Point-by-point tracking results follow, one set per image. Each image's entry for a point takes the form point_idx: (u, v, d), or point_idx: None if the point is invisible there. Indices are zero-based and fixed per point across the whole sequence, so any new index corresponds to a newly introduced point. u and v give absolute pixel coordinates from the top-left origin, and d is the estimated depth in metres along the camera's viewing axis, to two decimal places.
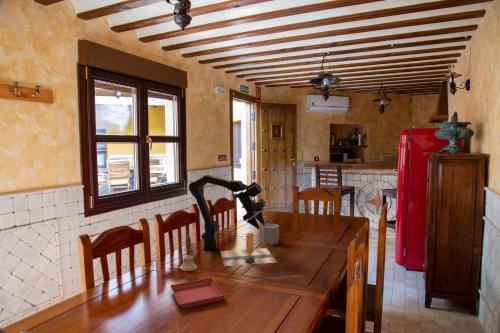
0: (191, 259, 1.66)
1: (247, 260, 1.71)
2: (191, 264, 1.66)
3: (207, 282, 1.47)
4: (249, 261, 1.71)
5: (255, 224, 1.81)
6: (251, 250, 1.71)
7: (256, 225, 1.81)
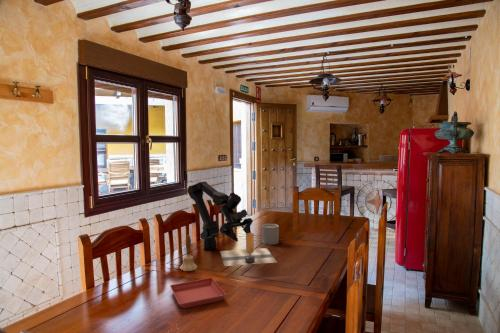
0: (191, 259, 1.66)
1: (247, 260, 1.71)
2: (191, 264, 1.66)
3: (207, 282, 1.47)
4: (249, 261, 1.71)
5: (232, 236, 1.73)
6: (251, 250, 1.71)
7: (233, 237, 1.72)
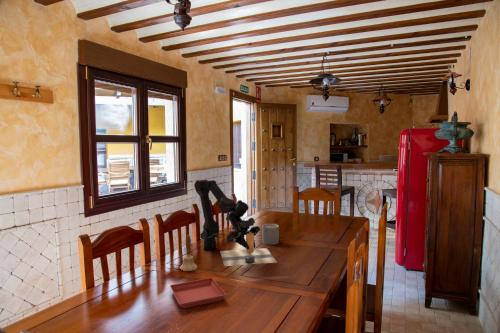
0: (191, 259, 1.66)
1: (247, 260, 1.71)
2: (191, 264, 1.66)
3: (207, 282, 1.47)
4: (249, 261, 1.71)
5: (244, 244, 1.71)
6: (251, 250, 1.71)
7: (245, 245, 1.70)
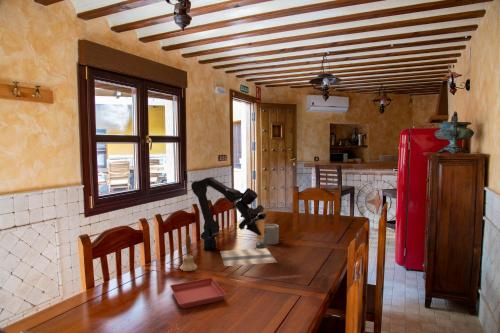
0: (191, 259, 1.66)
1: (259, 246, 1.76)
2: (191, 264, 1.66)
3: (207, 282, 1.47)
4: (261, 247, 1.76)
5: (255, 230, 1.75)
6: (262, 236, 1.76)
7: (257, 231, 1.75)
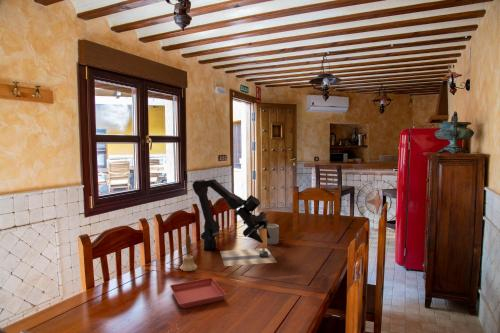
0: (191, 259, 1.66)
1: (262, 255, 1.78)
2: (191, 264, 1.66)
3: (207, 282, 1.47)
4: (264, 255, 1.78)
5: (257, 238, 1.76)
6: (265, 245, 1.79)
7: (258, 239, 1.76)
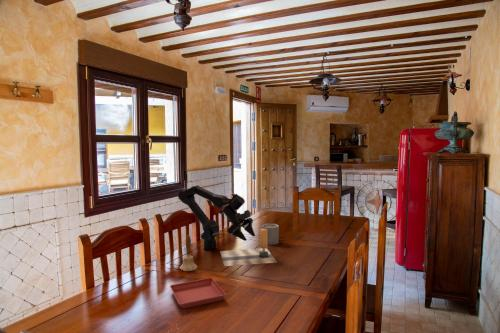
0: (191, 259, 1.66)
1: (262, 255, 1.78)
2: (191, 264, 1.66)
3: (207, 282, 1.47)
4: (264, 255, 1.78)
5: (241, 236, 1.80)
6: (266, 245, 1.79)
7: (242, 237, 1.80)
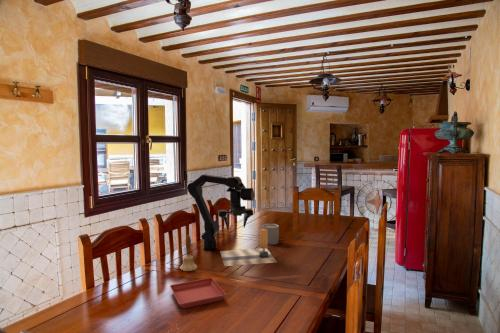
0: (191, 259, 1.66)
1: (262, 255, 1.78)
2: (191, 264, 1.66)
3: (207, 282, 1.47)
4: (264, 255, 1.78)
5: (225, 223, 1.90)
6: (266, 245, 1.79)
7: None
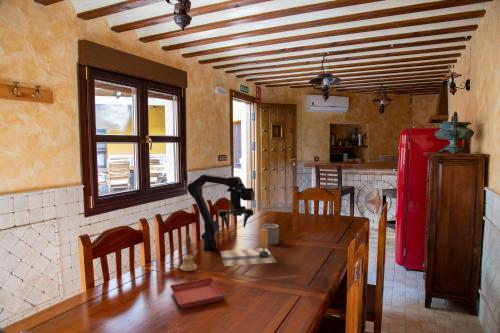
0: (191, 259, 1.66)
1: (262, 255, 1.78)
2: (191, 264, 1.66)
3: (207, 282, 1.47)
4: (264, 255, 1.78)
5: (225, 223, 1.90)
6: (266, 245, 1.79)
7: None
